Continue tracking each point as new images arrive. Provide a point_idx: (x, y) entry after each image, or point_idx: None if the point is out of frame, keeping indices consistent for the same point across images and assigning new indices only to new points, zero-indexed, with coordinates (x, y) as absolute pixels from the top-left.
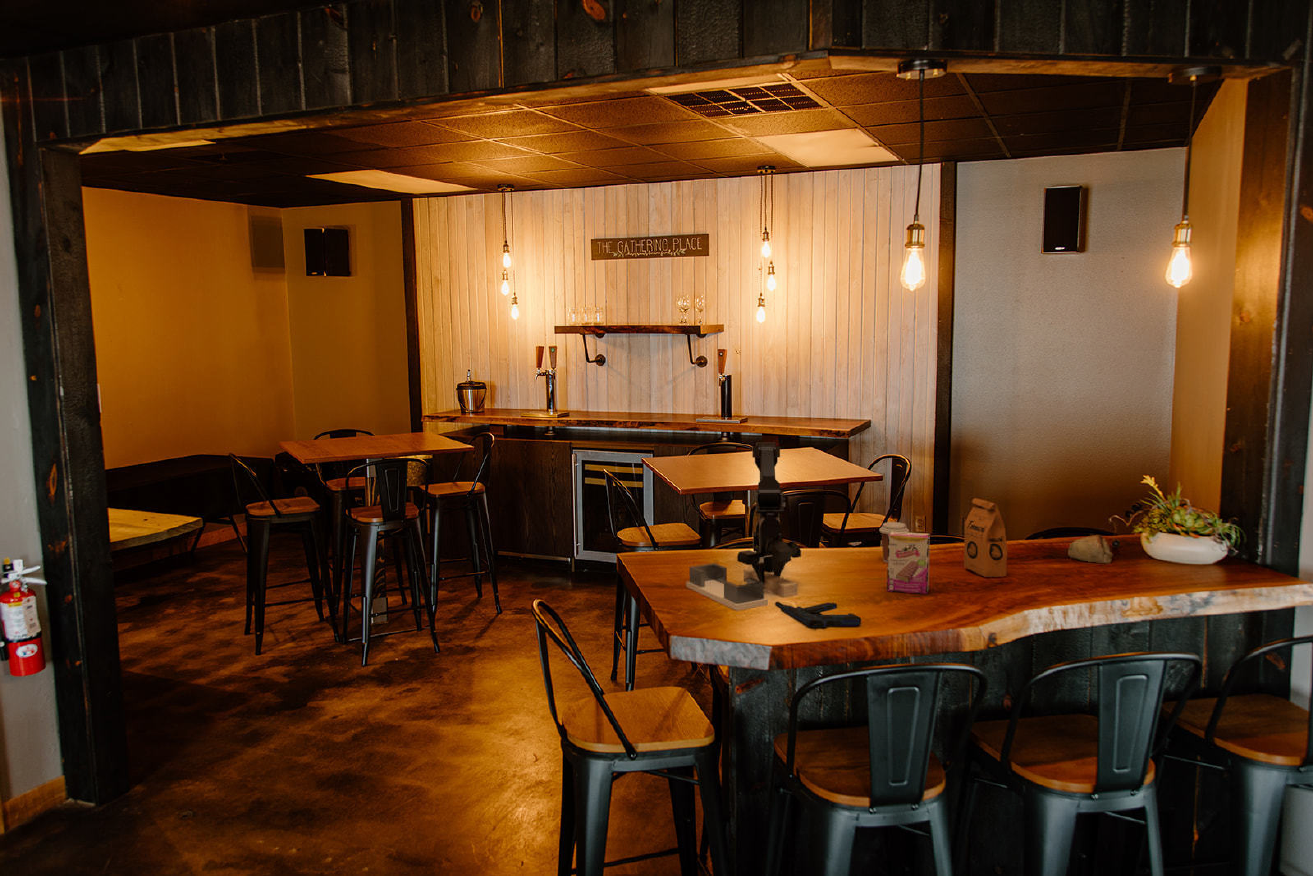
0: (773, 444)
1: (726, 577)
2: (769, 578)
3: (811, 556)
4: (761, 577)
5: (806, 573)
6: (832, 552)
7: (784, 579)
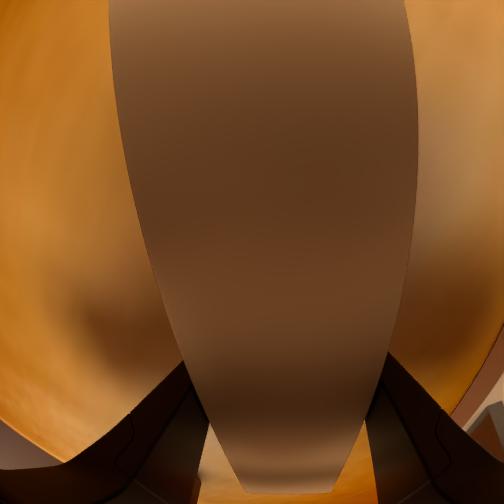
0: None
1: (498, 429)
2: (337, 369)
3: (34, 433)
4: (423, 391)
5: (30, 379)
6: (3, 416)
7: (168, 250)
